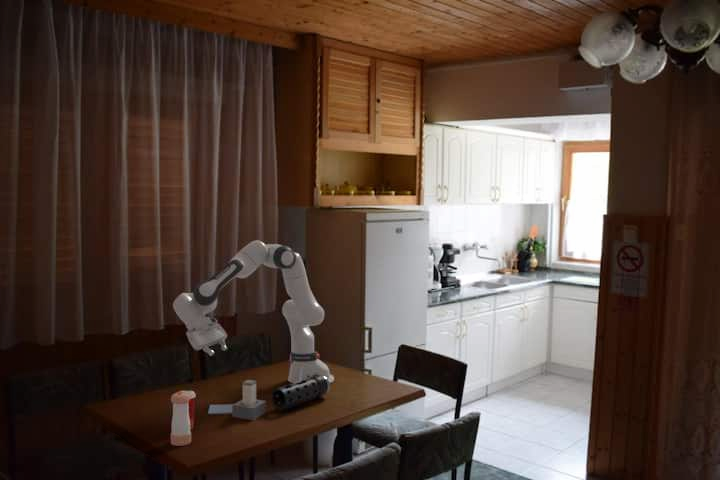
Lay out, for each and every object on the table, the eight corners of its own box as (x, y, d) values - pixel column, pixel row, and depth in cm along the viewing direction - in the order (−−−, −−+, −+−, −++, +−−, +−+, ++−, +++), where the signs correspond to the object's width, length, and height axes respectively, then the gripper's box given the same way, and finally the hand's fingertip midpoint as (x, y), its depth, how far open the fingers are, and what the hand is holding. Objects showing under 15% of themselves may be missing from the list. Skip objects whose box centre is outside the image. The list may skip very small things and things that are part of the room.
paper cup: (179, 424, 262) (178, 389, 261) (198, 424, 262) (198, 390, 261) (172, 431, 255) (172, 395, 254) (192, 432, 254) (192, 396, 253)
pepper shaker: (166, 444, 243) (166, 392, 241) (178, 437, 249) (178, 387, 248) (183, 447, 240) (182, 395, 238) (195, 440, 247) (194, 389, 245)
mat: (233, 405, 285) (233, 404, 285) (232, 413, 276) (232, 412, 275) (210, 406, 284) (210, 404, 284) (207, 414, 274) (207, 412, 274)
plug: (247, 412, 277) (247, 379, 276) (256, 414, 276) (256, 380, 274) (242, 415, 273) (242, 382, 272) (251, 417, 272) (251, 383, 271)
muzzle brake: (270, 409, 281) (270, 385, 280) (315, 394, 303) (315, 372, 302) (286, 414, 275) (286, 390, 275) (331, 398, 297) (331, 376, 296)
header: (245, 409, 281) (245, 397, 281) (266, 412, 277) (266, 401, 277) (232, 416, 272) (232, 404, 271) (253, 420, 268) (253, 408, 268)
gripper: (188, 326, 270) (208, 353, 267) (218, 317, 289) (237, 342, 286) (179, 336, 272) (199, 362, 269) (209, 327, 291) (228, 351, 288)
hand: (219, 352), depth 278 cm, fingers open, 8 cm apart
